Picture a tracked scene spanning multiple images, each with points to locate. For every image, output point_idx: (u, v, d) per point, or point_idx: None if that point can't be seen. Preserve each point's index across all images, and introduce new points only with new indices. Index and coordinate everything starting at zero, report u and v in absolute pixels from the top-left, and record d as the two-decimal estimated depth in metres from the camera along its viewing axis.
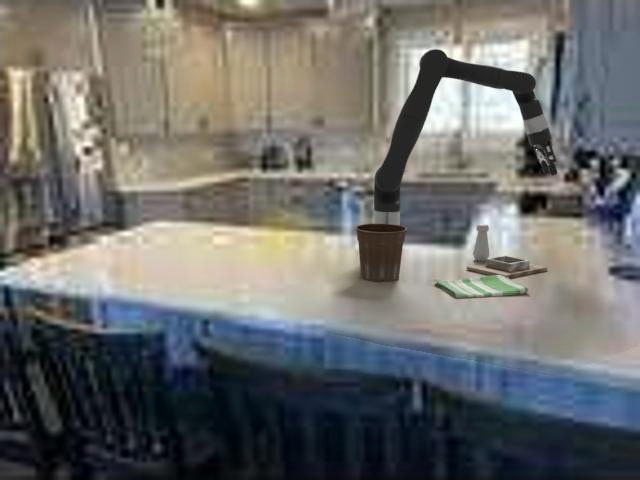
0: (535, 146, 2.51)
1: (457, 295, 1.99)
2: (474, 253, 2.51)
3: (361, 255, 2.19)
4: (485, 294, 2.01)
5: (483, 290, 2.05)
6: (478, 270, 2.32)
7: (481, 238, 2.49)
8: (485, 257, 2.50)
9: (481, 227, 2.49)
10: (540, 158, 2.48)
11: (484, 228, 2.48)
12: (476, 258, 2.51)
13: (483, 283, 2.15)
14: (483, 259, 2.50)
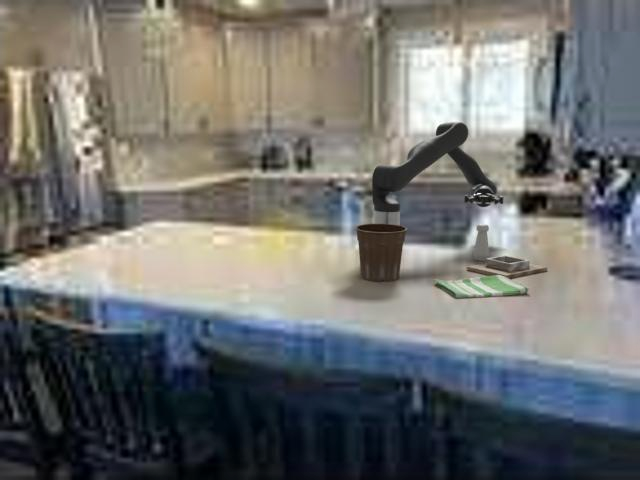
0: (468, 195, 2.70)
1: (457, 295, 1.99)
2: (474, 253, 2.51)
3: (361, 255, 2.19)
4: (485, 294, 2.01)
5: (483, 290, 2.05)
6: (478, 270, 2.32)
7: (481, 238, 2.49)
8: (485, 257, 2.50)
9: (481, 227, 2.49)
10: (476, 196, 2.66)
11: (484, 228, 2.48)
12: (476, 258, 2.51)
13: (483, 283, 2.15)
14: (483, 259, 2.50)
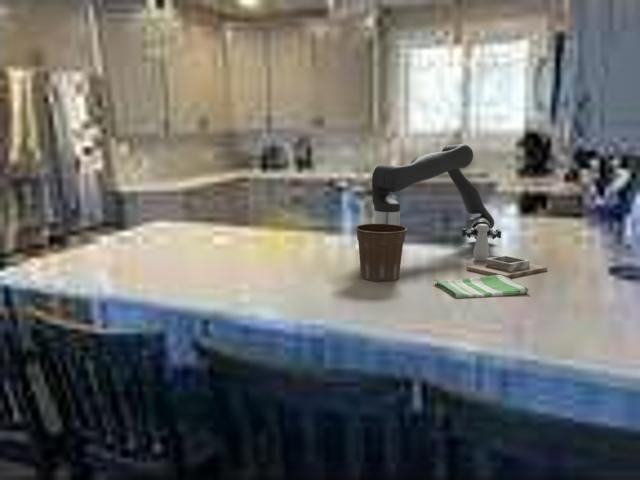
0: (465, 228, 2.69)
1: (457, 295, 1.99)
2: (474, 253, 2.51)
3: (361, 255, 2.19)
4: (485, 294, 2.01)
5: (483, 290, 2.05)
6: (478, 270, 2.32)
7: (481, 238, 2.49)
8: (485, 257, 2.50)
9: (481, 227, 2.49)
10: (473, 229, 2.64)
11: (484, 228, 2.48)
12: (476, 258, 2.51)
13: (483, 283, 2.15)
14: (483, 259, 2.50)
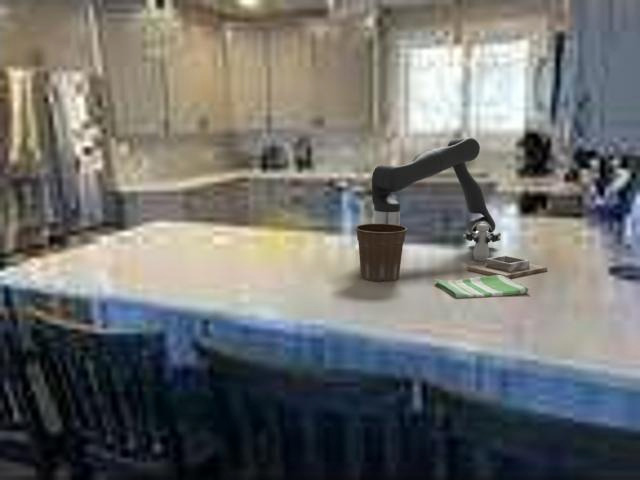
0: None
1: (457, 295, 1.99)
2: (474, 253, 2.51)
3: (361, 255, 2.19)
4: (485, 294, 2.01)
5: (483, 290, 2.05)
6: (478, 270, 2.32)
7: (481, 238, 2.49)
8: (485, 257, 2.50)
9: (481, 227, 2.49)
10: None
11: (484, 228, 2.48)
12: (476, 258, 2.51)
13: (483, 283, 2.15)
14: (483, 259, 2.50)
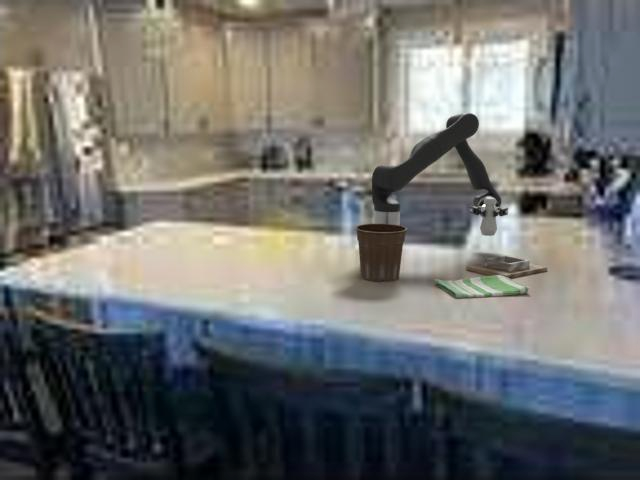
0: (472, 207, 2.54)
1: (457, 295, 1.99)
2: (481, 227, 2.46)
3: (361, 255, 2.19)
4: (485, 294, 2.01)
5: (483, 290, 2.05)
6: (478, 270, 2.32)
7: (488, 211, 2.44)
8: (492, 231, 2.45)
9: (489, 200, 2.43)
10: None
11: (491, 201, 2.43)
12: (483, 232, 2.46)
13: (483, 283, 2.15)
14: (490, 233, 2.45)
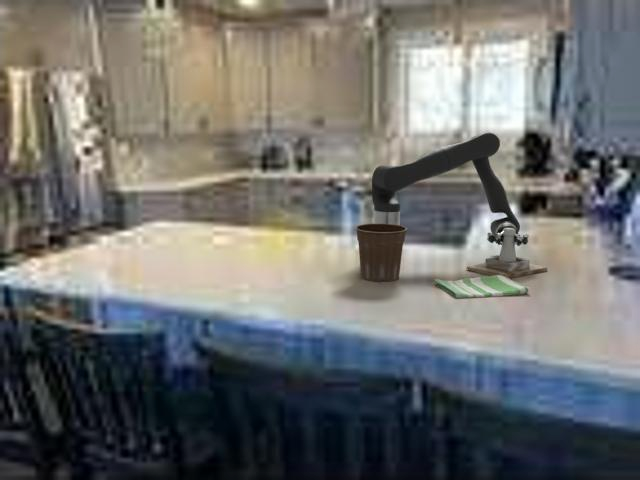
0: (490, 233, 2.43)
1: (457, 295, 1.99)
2: (500, 259, 2.35)
3: (361, 255, 2.19)
4: (485, 294, 2.01)
5: (483, 290, 2.05)
6: (478, 270, 2.32)
7: (507, 242, 2.34)
8: None
9: (508, 230, 2.33)
10: (501, 235, 2.39)
11: (510, 232, 2.33)
12: None
13: (483, 283, 2.15)
14: None
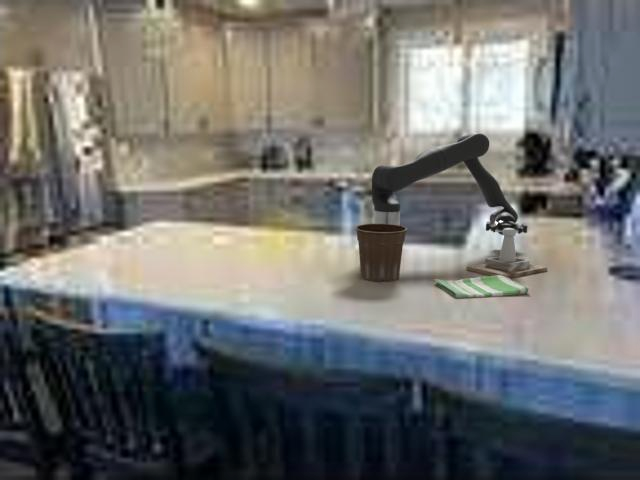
0: (489, 222, 2.56)
1: (457, 295, 1.99)
2: (500, 259, 2.35)
3: (361, 255, 2.19)
4: (485, 294, 2.01)
5: (483, 290, 2.05)
6: (478, 270, 2.32)
7: (507, 243, 2.33)
8: None
9: (508, 231, 2.32)
10: (498, 224, 2.51)
11: (510, 232, 2.32)
12: None
13: (483, 283, 2.15)
14: None
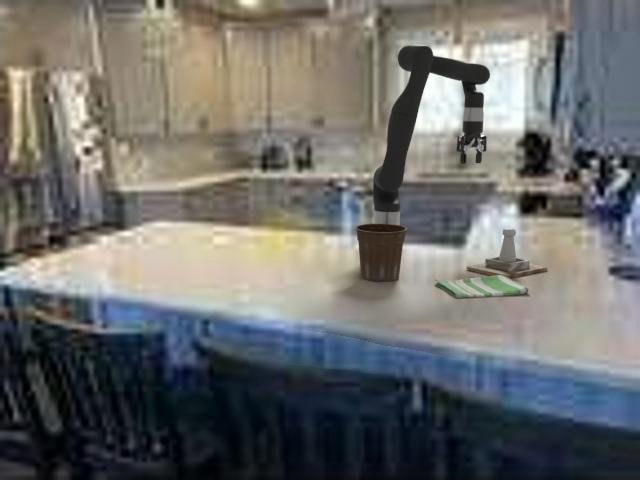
0: None
1: (457, 295, 1.99)
2: (500, 259, 2.35)
3: (361, 255, 2.19)
4: (485, 294, 2.01)
5: (483, 290, 2.05)
6: (478, 270, 2.32)
7: (507, 243, 2.33)
8: None
9: (508, 231, 2.32)
10: None
11: (510, 232, 2.32)
12: None
13: (484, 283, 2.15)
14: None
